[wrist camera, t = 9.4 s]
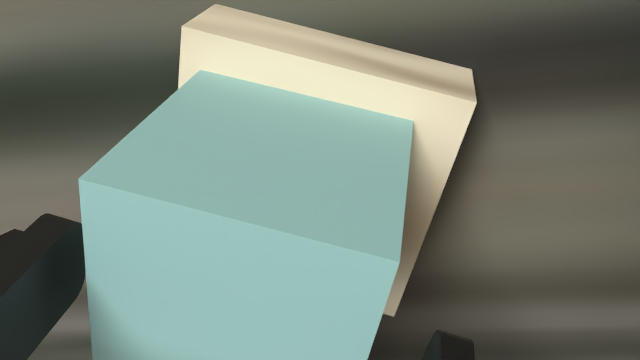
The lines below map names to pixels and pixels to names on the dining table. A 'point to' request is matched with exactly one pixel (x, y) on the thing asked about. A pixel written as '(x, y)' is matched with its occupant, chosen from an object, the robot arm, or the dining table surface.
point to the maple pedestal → (347, 95)
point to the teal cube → (245, 227)
